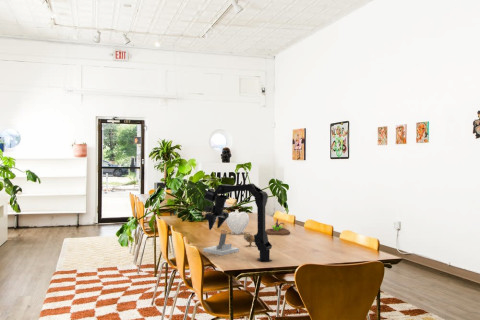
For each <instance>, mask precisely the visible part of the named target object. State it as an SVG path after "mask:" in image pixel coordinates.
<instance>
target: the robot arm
mask: <svg viewBox="0 0 480 320" xmlns="http://www.w3.org/2000/svg"><path fill="white" fill-rule="evenodd" d="M244 191H249V193H250V194H251V196H252V197H253V198H254V202H255V205H256V208H257V209H256V210H257V214H256V215H257V219H256V220H257V222H256V223H257V232H256V234H253V236H254V242H253V243H254V245H255V246H256V248H257V251H259V258H257V260H258V261H259V262H272V259H271V257H270V256H271V255H270V253H271V249H272V247H273V245H272V244H271V243H270V241H269V237H268V236H269V235H267V233H266V206H267V203H268V198H269V195H268V193H267V192H266V191H263V190H262V189H261V188H259V186H257V185H256V184H255V183H254V182H253V183H247V184H245V183H244V184H236V185H235V184H234V185H232V184H228V183H227V184H226V183H225V184H219V185H218V186H217V188H216V189H215V190H212V189H211V188H207V190H206V192H205V193H204V197H203V198H204V200H206V201H208V202H211V203H214V204H213V205H212V206H209V205H205V206H204V209H203V210H204V211H205V214H204V218H205V220H207V222H208V230H209V231H211V230H212V229H213V227H214V225H215V224H216V221H217V229H220V227H221V226H222V224H224V223H225V221H226V219H227V218H228V217H229V212H227V211H224V210H225V209H226V207H225V204H226V200H230V197H229V195H228V194H230V193H233V192H244ZM225 194H226V195H225ZM229 218H230V217H229Z"/></svg>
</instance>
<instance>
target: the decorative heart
mask: <svg viewBox="0 0 480 320" xmlns="http://www.w3.org/2000/svg"><path fill="white" fill-rule="evenodd" d="M228 214H229V217H228V218H227V219H226V220H225V221H226V224H227V226H228V228H229V229H230V230H231V232H232V233H234V234H236V235H239V234H240V235H242V234H243V235H244V234H245V229H246V228H247V226H248V225H249V221H250V216H249V214H248V213H247V212H246V211H240V212H238V213H237V212H235V211H231V212H228Z"/></svg>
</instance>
